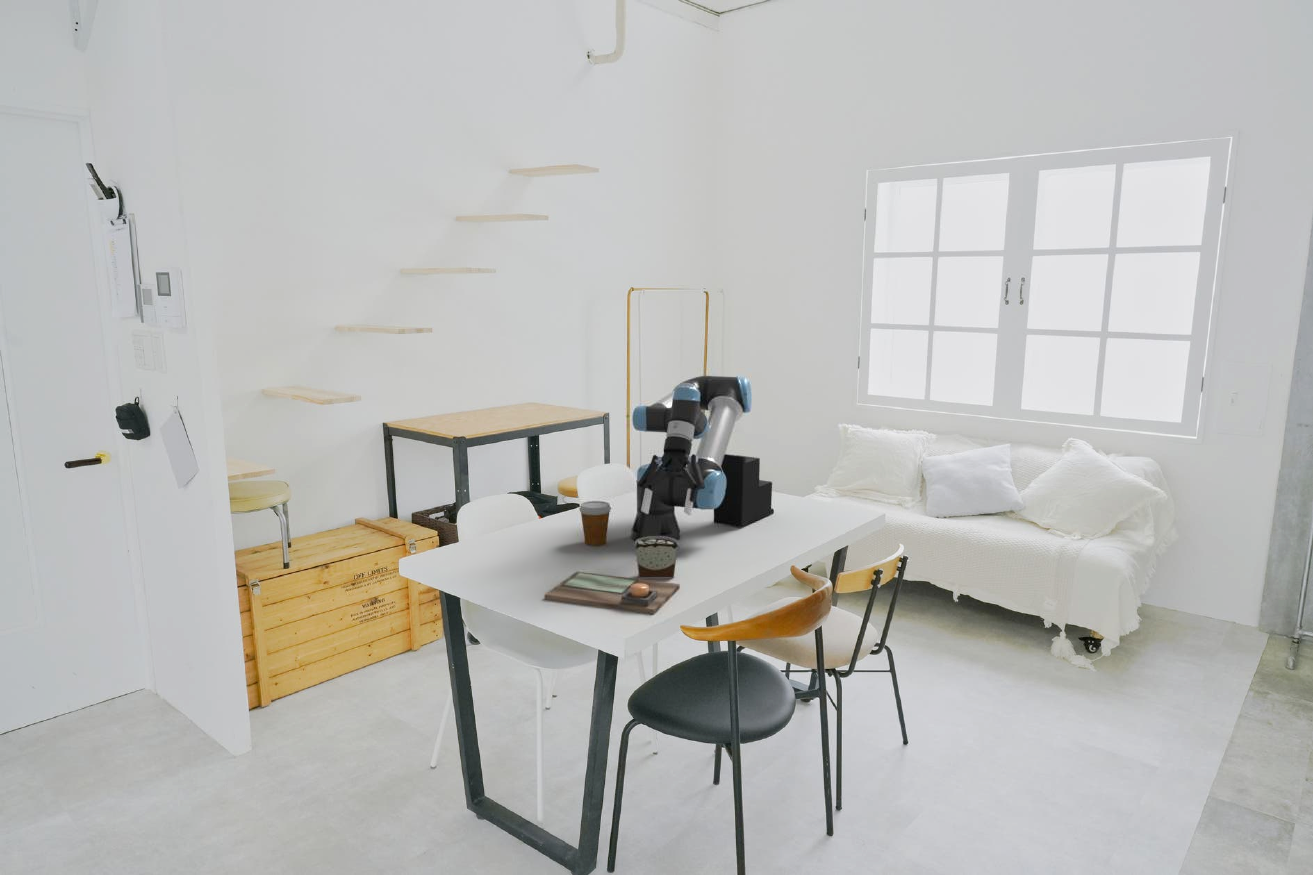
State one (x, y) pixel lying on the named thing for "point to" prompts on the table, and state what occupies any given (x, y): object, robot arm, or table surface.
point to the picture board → (612, 592)
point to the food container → (656, 556)
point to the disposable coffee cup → (595, 521)
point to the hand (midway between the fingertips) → (665, 513)
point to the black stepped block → (743, 492)
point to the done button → (639, 590)
